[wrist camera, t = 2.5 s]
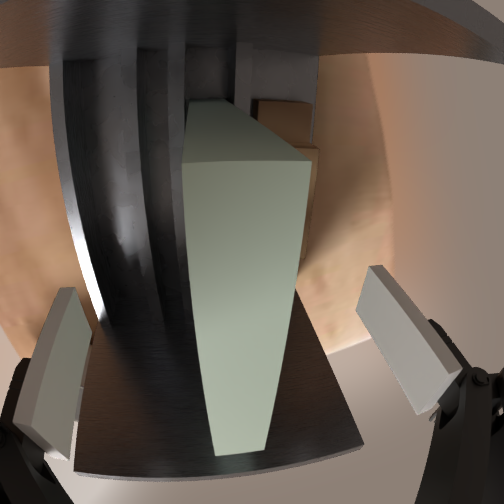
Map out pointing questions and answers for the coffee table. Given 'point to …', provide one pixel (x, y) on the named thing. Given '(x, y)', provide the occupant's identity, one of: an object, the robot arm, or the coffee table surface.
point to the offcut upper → (313, 155)
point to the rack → (172, 206)
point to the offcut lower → (285, 118)
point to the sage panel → (241, 263)
